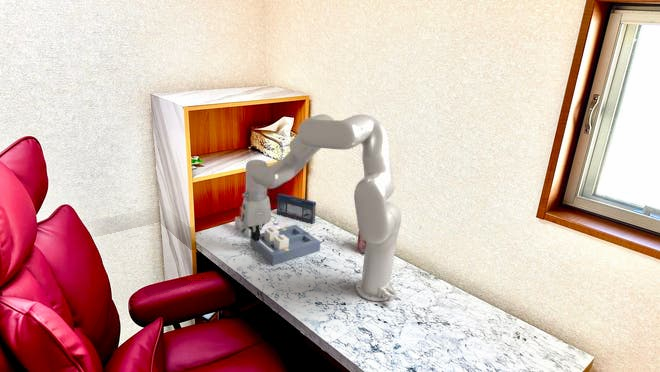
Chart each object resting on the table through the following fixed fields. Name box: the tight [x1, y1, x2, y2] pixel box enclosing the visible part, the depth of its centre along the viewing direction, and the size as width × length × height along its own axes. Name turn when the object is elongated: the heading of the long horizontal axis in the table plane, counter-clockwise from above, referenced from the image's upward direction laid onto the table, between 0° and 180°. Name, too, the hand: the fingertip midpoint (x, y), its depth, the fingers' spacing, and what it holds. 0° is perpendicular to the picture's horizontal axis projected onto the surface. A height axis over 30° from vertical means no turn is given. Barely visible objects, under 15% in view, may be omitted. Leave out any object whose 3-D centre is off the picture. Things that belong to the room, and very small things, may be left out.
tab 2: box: [274, 235, 289, 251], centre depth 160 cm, size 4×4×6 cm
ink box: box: [234, 205, 251, 239], centre depth 175 cm, size 2×11×10 cm, turn 40°
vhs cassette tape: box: [276, 193, 317, 225], centre depth 191 cm, size 18×3×10 cm, turn 64°
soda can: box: [356, 230, 366, 255], centre depth 168 cm, size 7×7×12 cm
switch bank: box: [249, 224, 321, 266], centre depth 166 cm, size 17×21×4 cm
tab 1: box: [264, 227, 279, 243], centre depth 165 cm, size 4×4×6 cm
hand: (255, 239), depth 161 cm, fingers closed
